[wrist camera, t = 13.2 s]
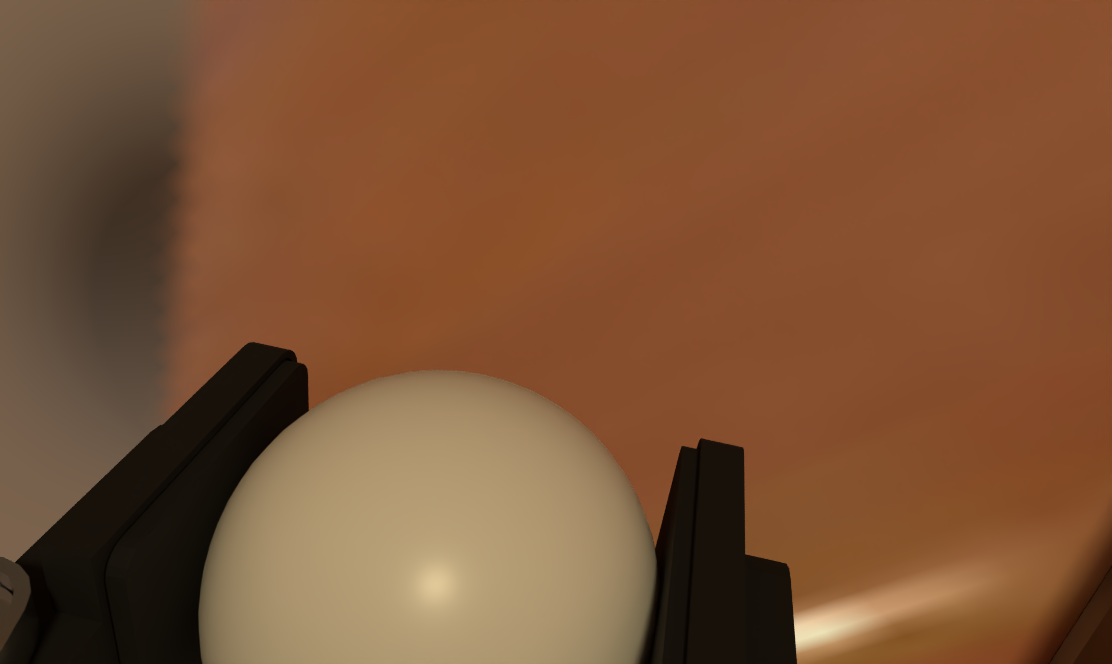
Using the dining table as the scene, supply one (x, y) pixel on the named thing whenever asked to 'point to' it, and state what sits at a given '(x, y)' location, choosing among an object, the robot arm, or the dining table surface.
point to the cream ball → (431, 536)
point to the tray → (1091, 631)
